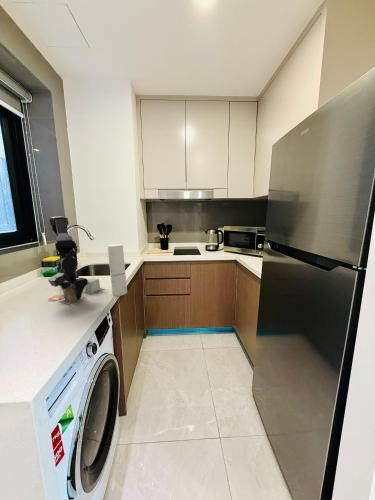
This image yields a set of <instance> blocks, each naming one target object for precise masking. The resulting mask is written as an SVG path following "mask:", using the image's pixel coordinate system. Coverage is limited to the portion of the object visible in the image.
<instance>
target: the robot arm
mask: <svg viewBox="0 0 375 500" xmlns="http://www.w3.org/2000/svg"><path fill="white" fill-rule="evenodd" d="M48 219H49V227H51V230H52V231H53V232H54V233H55V234H56V237H55V241H56V242H54V246H55V250H56V251H55V252H56V257H59V259H58V260H57V262H56V264H57V266H56V274H54V275H52V276H50V277H49V278H48V280H47V281H48V282H49V284H50V286H52V287H58V286H60V288H61V290H62V291H63V289H64V288H68V287H71V286H72V287H71V288H72V289H74V290H75V294H76V298H77V300H79V299H80V297H81V296H82V295H83V293H82V292H83V291H85V286H86V285H87V284H88V279H87V278H85V277H80V275H78V274H77V270H78V268H79V267H77V266H78V261H77V259H76V258H75V256H74V255H77V254H78V251H79V250H78V249H79V248H78V246H77V242H76V241H75V240H73V236H72V235H70V234H69V233H68V226H69V223H70V222H69V218H68V217H66V216H59V215H58V216H53V217H51V218H48Z"/></svg>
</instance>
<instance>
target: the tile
mask: <svg viewBox="0 0 375 500" xmlns="http://www.w3.org/2000/svg"><path fill="white" fill-rule="evenodd" d="M86 299H88V297H85V296H82V295H81V299H80V300H77V301H75V302H72V303H69V302H66V301H65V299H62V300H58V303H61V304H64V305H65V306H66V305H67V306H72V305H74V304H77V303H80V302H82V301H84V300H86Z"/></svg>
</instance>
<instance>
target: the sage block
mask: <svg viewBox="0 0 375 500" xmlns="http://www.w3.org/2000/svg"><path fill="white" fill-rule="evenodd" d="M87 280H88V284H87V285H86V286H85V288H84V290H86V292H89V293H94V292H96V291H99V290H100V288H101V285H100V279H99V278H95V277H92V278H91V277H90V278H89V279H87Z"/></svg>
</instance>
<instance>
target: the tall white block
mask: <svg viewBox="0 0 375 500" xmlns="http://www.w3.org/2000/svg"><path fill="white" fill-rule="evenodd" d="M124 253H125V252H124V244H123V243H116V244H113V243H112V244H108V245H107V257H108V265H109V274H110V284H111V293H112V296H114V297H115V296H116V297H121V296H124V295H126V294H127V293H128V288H127V287H128V286H127V285H128V284H127V277H126V265H125V255H124Z"/></svg>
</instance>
